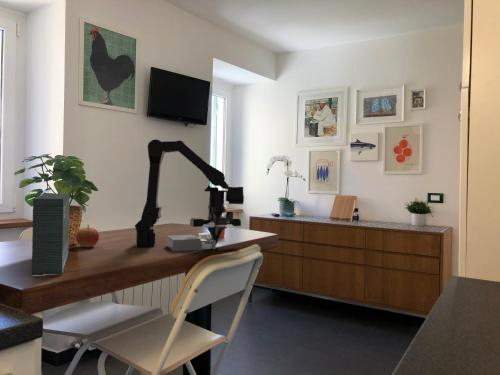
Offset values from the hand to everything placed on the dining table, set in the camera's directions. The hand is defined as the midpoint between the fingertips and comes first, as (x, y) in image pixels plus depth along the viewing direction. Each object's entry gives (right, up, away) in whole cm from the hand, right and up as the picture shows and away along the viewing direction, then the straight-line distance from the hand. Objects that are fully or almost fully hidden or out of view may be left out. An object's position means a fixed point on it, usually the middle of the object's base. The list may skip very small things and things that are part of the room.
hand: (215, 244), depth 154 cm
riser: (-5, 0, +9) cm, 10 cm away
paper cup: (-1, 0, +25) cm, 26 cm away
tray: (-6, -1, -2) cm, 7 cm away
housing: (-11, -1, -4) cm, 12 cm away
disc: (-6, 0, -3) cm, 7 cm away
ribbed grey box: (-44, -1, -37) cm, 57 cm away
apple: (-46, 0, -8) cm, 46 cm away
